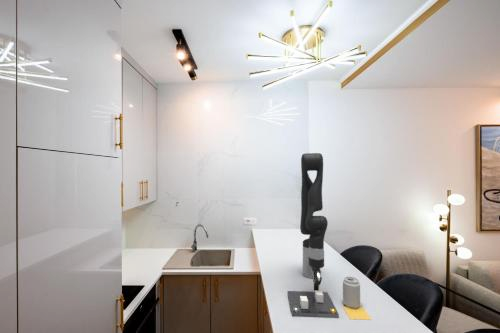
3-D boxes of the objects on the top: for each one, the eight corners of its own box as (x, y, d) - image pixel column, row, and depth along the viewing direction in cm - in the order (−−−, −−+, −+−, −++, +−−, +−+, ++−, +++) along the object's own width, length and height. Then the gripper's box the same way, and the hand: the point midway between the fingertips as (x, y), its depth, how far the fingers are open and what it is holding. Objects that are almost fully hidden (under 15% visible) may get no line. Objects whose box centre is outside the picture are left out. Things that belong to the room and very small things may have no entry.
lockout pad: (342, 306, 110) (342, 306, 110) (362, 307, 109) (362, 306, 109) (349, 319, 101) (349, 318, 101) (371, 319, 100) (371, 319, 100)
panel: (287, 293, 121) (287, 288, 121) (327, 295, 120) (327, 289, 120) (291, 316, 103) (291, 309, 103) (338, 317, 102) (338, 311, 102)
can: (355, 300, 115) (355, 275, 115) (363, 309, 108) (363, 282, 108) (340, 300, 115) (340, 275, 115) (347, 309, 107) (347, 282, 107)
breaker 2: (314, 297, 114) (314, 290, 114) (321, 297, 114) (321, 290, 114) (316, 302, 110) (316, 294, 110) (323, 302, 110) (323, 295, 110)
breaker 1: (299, 303, 109) (299, 295, 109) (306, 303, 109) (306, 296, 109) (301, 308, 105) (301, 300, 105) (308, 309, 105) (308, 301, 105)
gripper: (306, 251, 125) (306, 284, 125) (311, 261, 111) (311, 298, 111) (320, 251, 124) (320, 284, 124) (327, 261, 111) (327, 298, 111)
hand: (316, 290), depth 118 cm, fingers closed
